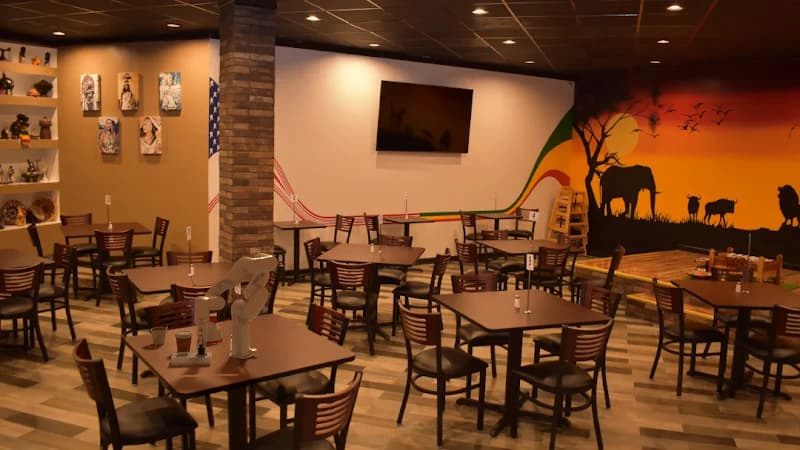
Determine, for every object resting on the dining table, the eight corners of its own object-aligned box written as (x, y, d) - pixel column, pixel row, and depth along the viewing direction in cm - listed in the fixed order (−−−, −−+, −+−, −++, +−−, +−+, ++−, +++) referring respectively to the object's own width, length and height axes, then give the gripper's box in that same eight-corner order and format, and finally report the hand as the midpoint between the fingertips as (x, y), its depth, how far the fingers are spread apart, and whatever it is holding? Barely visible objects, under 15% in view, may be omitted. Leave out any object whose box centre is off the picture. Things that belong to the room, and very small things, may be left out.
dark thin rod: (206, 366, 359) (206, 364, 358) (206, 367, 358) (206, 365, 358) (177, 369, 353) (177, 367, 353) (177, 369, 352) (177, 367, 352)
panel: (211, 360, 369) (211, 351, 368) (210, 366, 359) (210, 357, 359) (173, 361, 365) (173, 352, 364) (171, 367, 355) (171, 358, 355)
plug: (205, 360, 365) (205, 342, 364) (205, 363, 361) (205, 344, 360) (196, 360, 364) (197, 342, 363) (196, 363, 360) (196, 344, 359)
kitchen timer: (218, 344, 399) (219, 319, 398) (195, 343, 399) (195, 318, 398) (225, 338, 413) (225, 314, 411) (202, 337, 413) (203, 313, 412)
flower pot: (170, 341, 400) (170, 327, 400) (162, 346, 391) (163, 331, 390) (154, 340, 401) (154, 326, 400) (147, 345, 392) (147, 330, 391)
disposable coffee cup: (174, 356, 373) (174, 335, 372) (175, 351, 383) (175, 330, 381) (192, 355, 376) (192, 334, 375) (192, 350, 385) (193, 330, 384)
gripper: (208, 323, 353) (207, 358, 355) (210, 316, 369) (209, 348, 371) (193, 324, 352) (192, 358, 354) (196, 316, 368) (195, 349, 370)
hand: (201, 353), depth 362 cm, fingers closed on plug, 4 cm apart
